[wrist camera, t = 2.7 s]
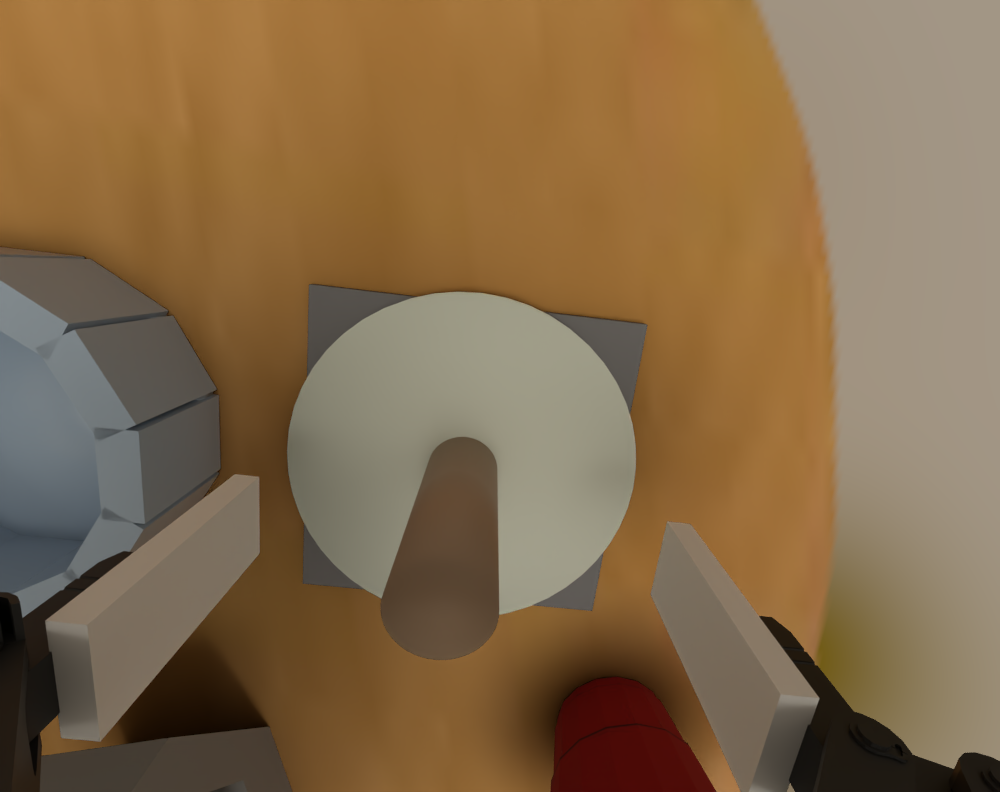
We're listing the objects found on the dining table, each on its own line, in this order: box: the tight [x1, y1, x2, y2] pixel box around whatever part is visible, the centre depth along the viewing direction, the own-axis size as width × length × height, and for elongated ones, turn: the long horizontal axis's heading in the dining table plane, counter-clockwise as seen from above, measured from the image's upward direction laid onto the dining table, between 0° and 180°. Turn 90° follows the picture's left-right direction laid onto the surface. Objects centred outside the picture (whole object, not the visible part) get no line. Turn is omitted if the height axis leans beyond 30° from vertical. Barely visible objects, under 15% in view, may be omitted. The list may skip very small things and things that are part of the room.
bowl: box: [0, 247, 221, 618], centre depth 19 cm, size 14×14×5 cm
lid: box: [287, 291, 636, 660], centre depth 17 cm, size 15×15×10 cm
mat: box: [303, 284, 647, 611], centre depth 22 cm, size 14×14×1 cm
